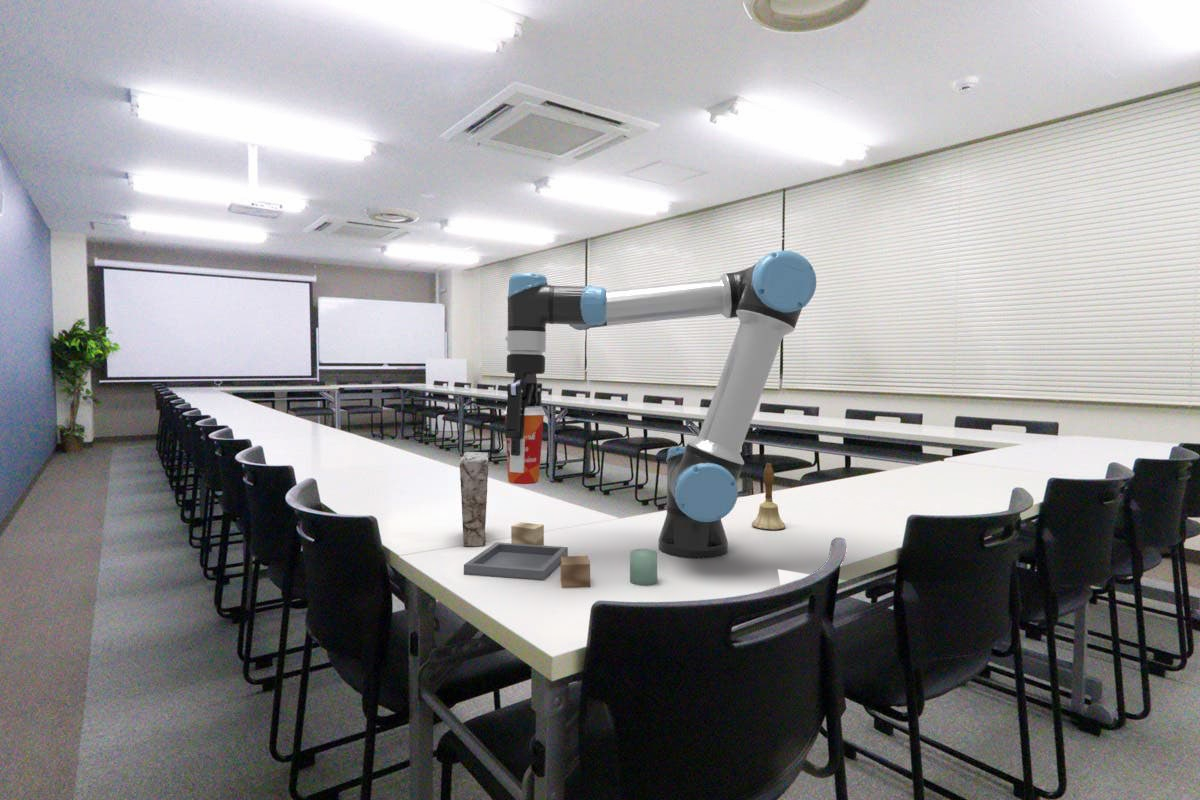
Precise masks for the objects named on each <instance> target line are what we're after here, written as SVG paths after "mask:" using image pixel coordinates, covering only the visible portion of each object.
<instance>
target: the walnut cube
mask: <svg viewBox="0 0 1200 800" xmlns="http://www.w3.org/2000/svg"><path fill="white" fill-rule="evenodd" d="M560 582H561V588H562V589H571V588H573V589H574V588H576V589H577V588H591V562H590V560H589V557H588V555H571V556H570V555H569V556H564V557H561V565H560Z"/></svg>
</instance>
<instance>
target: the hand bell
mask: <svg viewBox="0 0 1200 800" xmlns="http://www.w3.org/2000/svg"><path fill="white" fill-rule="evenodd" d="M774 473H775V472H774V469H773V466H772V462H770V463H769V462H767V463H765V467H764V470H763V476H762V477H763V482H764V486H765V496H764V497H765V499H764V501H763V502H762V503H760V504H759V509H758V513H757V515H756V518H755V519H754V520H753V521H752V522H751V526H752V527H754V528H758V529H762V530H772V531H773V530H775V531H776V530H783V529H785V528H786V524H785V523H784V522H783V520H782V519H781V517H780V514H779V513H780V512H779V506H778V504H777V503H775V502H773V485H774V480H775V474H774Z"/></svg>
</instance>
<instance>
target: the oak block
mask: <svg viewBox="0 0 1200 800" xmlns="http://www.w3.org/2000/svg"><path fill="white" fill-rule="evenodd" d="M510 534H511V537H510V539H511V540H510V542H511V543H514V544H529V545H543V546H545V525H544V524H539V523H529V522H518V523H516V524H514V525H512V526H511V528H510Z"/></svg>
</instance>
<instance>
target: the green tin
mask: <svg viewBox="0 0 1200 800" xmlns="http://www.w3.org/2000/svg"><path fill="white" fill-rule="evenodd" d="M629 581H630V583H631V584H633V585H636V586H645V587H647V586H653V585H655V584H657V583H658V552H657V551H656V550H654V549H649V548H635V549H632V550H631V551H630V552H629Z"/></svg>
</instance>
